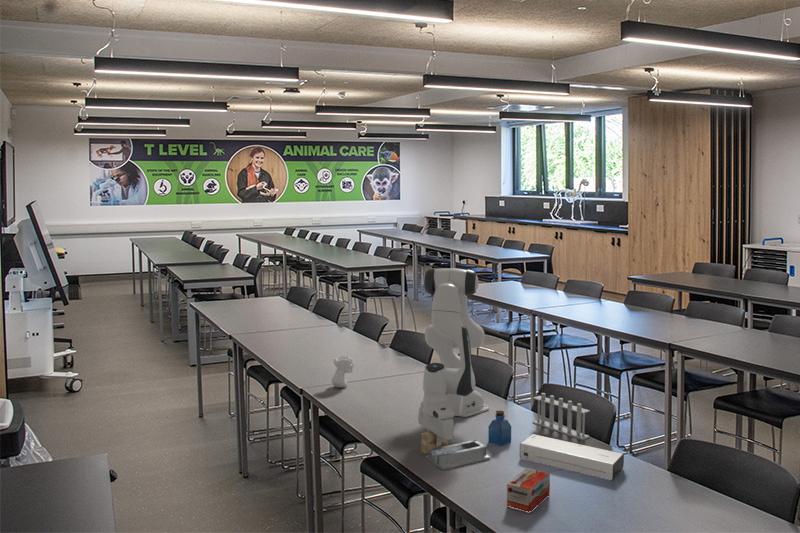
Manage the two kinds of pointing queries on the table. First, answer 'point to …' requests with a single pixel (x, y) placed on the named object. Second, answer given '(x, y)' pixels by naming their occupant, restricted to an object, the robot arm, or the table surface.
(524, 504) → the medicine box
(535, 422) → the test tube rack
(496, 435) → the perfume bottle
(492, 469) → the table surface
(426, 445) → the tan wooden block
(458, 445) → the floor track
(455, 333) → the robot arm
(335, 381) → the white lumpy upright piece
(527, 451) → the laminator
